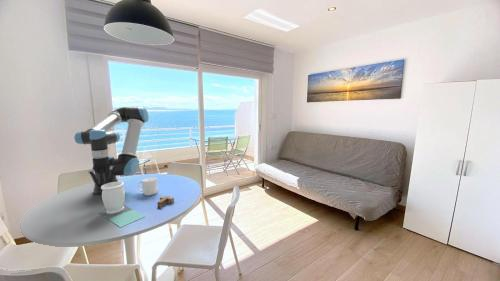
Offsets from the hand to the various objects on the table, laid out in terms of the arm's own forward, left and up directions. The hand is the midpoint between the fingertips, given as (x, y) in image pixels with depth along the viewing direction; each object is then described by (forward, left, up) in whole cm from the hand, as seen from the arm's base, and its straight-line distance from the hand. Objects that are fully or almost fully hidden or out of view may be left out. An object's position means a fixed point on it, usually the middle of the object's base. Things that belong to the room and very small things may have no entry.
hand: (105, 196), depth 118 cm
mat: (+19, 0, -6) cm, 20 cm away
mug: (+3, +24, -6) cm, 25 cm away
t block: (+27, +20, -6) cm, 34 cm away
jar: (+12, 0, -6) cm, 13 cm away
